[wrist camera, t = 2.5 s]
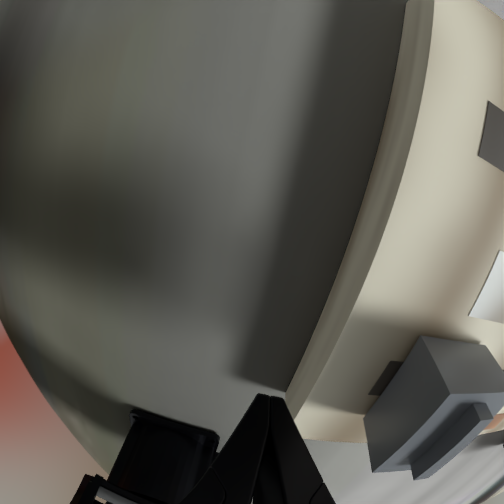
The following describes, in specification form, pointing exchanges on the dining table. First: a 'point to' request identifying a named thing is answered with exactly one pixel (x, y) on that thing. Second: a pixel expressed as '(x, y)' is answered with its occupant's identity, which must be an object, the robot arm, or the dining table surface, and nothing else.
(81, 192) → the dining table surface
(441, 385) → the switch tab
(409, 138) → the switch board
